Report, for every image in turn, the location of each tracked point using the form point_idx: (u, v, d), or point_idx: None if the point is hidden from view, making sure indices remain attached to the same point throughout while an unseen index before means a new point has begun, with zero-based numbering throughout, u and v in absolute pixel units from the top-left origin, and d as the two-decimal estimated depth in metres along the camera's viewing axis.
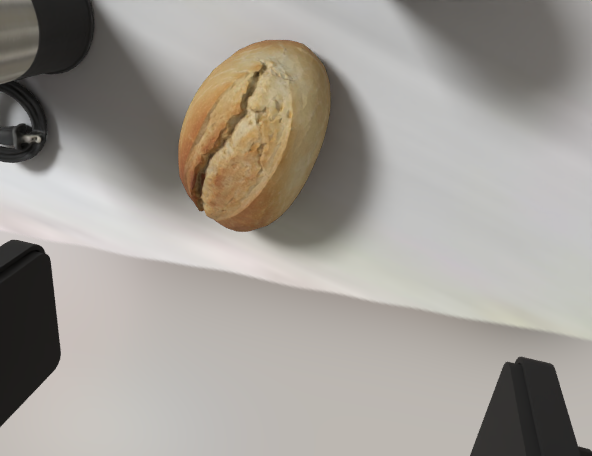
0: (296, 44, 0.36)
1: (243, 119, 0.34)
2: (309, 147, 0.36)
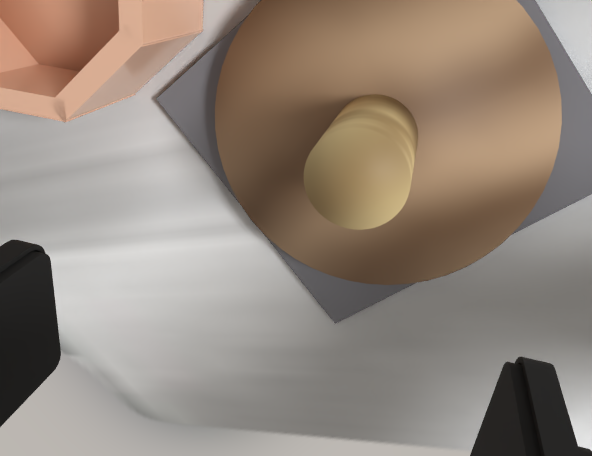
0: None
1: None
2: None
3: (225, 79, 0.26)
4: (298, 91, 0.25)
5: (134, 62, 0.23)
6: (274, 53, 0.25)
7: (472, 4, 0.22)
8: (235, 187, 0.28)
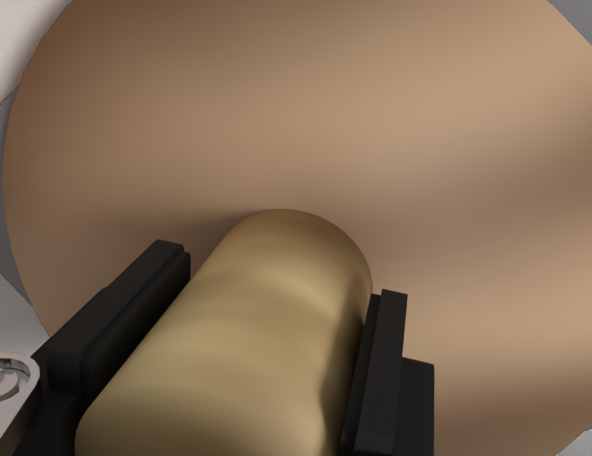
0: None
1: None
2: None
3: (14, 170, 0.14)
4: (145, 197, 0.13)
5: None
6: (92, 127, 0.13)
7: (479, 39, 0.10)
8: None
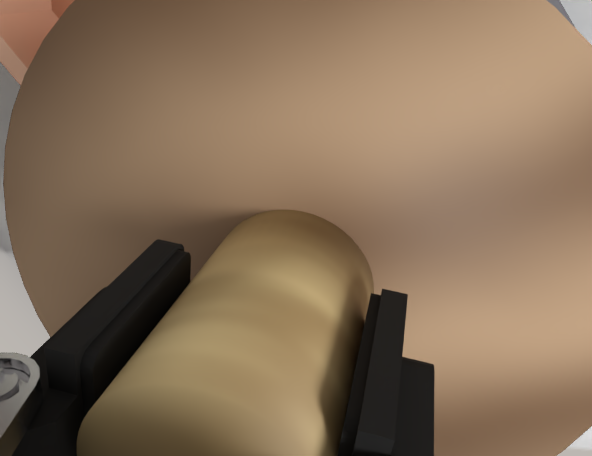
0: None
1: None
2: None
3: (15, 171, 0.14)
4: (146, 197, 0.13)
5: None
6: (93, 127, 0.13)
7: (480, 40, 0.10)
8: None
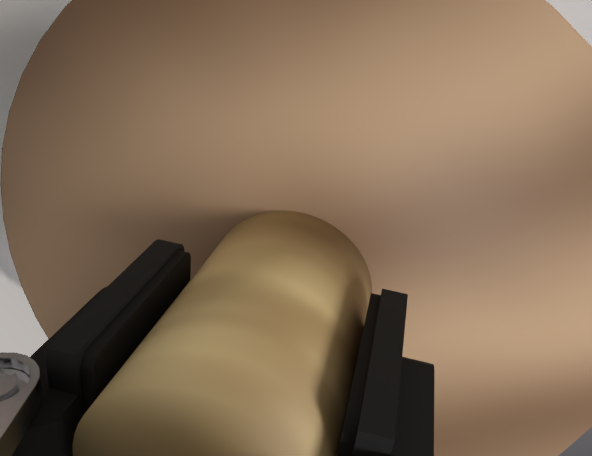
0: None
1: None
2: None
3: (12, 171, 0.14)
4: (143, 198, 0.13)
5: None
6: (91, 128, 0.13)
7: (478, 40, 0.10)
8: None
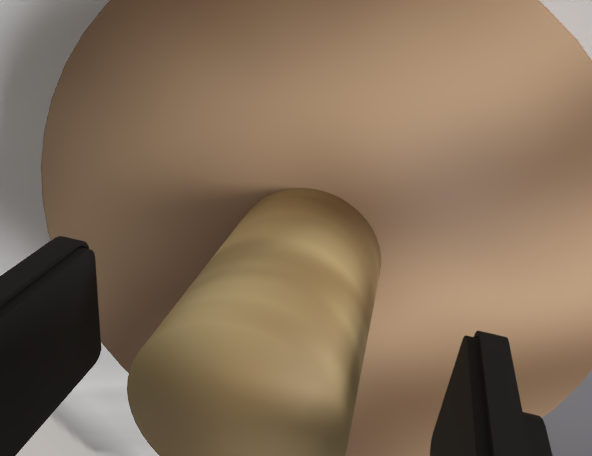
0: None
1: None
2: None
3: (52, 154, 0.15)
4: (173, 178, 0.15)
5: None
6: (126, 114, 0.14)
7: (477, 33, 0.11)
8: None
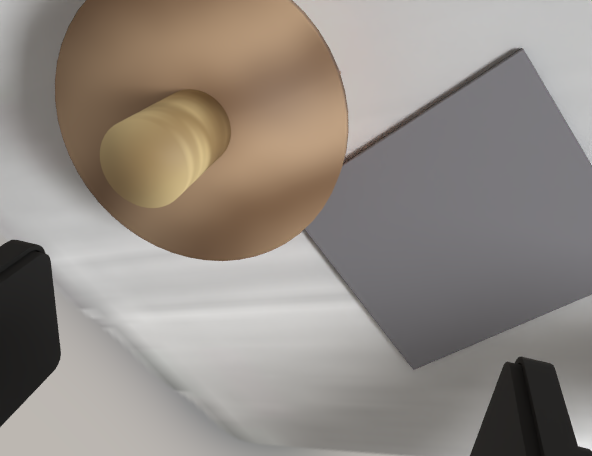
0: None
1: None
2: None
3: (61, 74, 0.29)
4: (125, 86, 0.28)
5: None
6: (100, 51, 0.28)
7: (259, 11, 0.25)
8: (81, 172, 0.31)
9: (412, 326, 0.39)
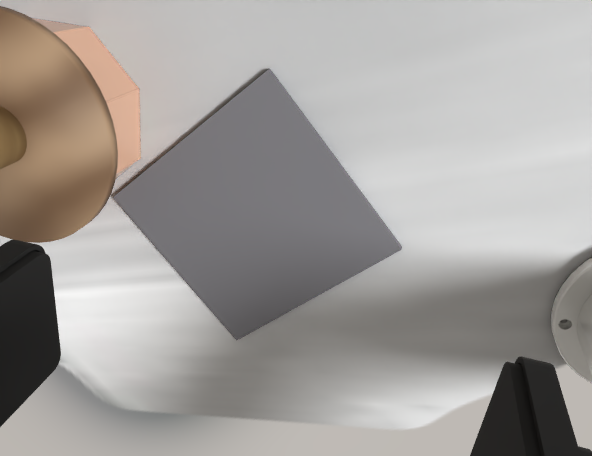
0: None
1: None
2: None
3: None
4: None
5: None
6: None
7: (28, 44, 0.33)
8: None
9: (228, 301, 0.46)
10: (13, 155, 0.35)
